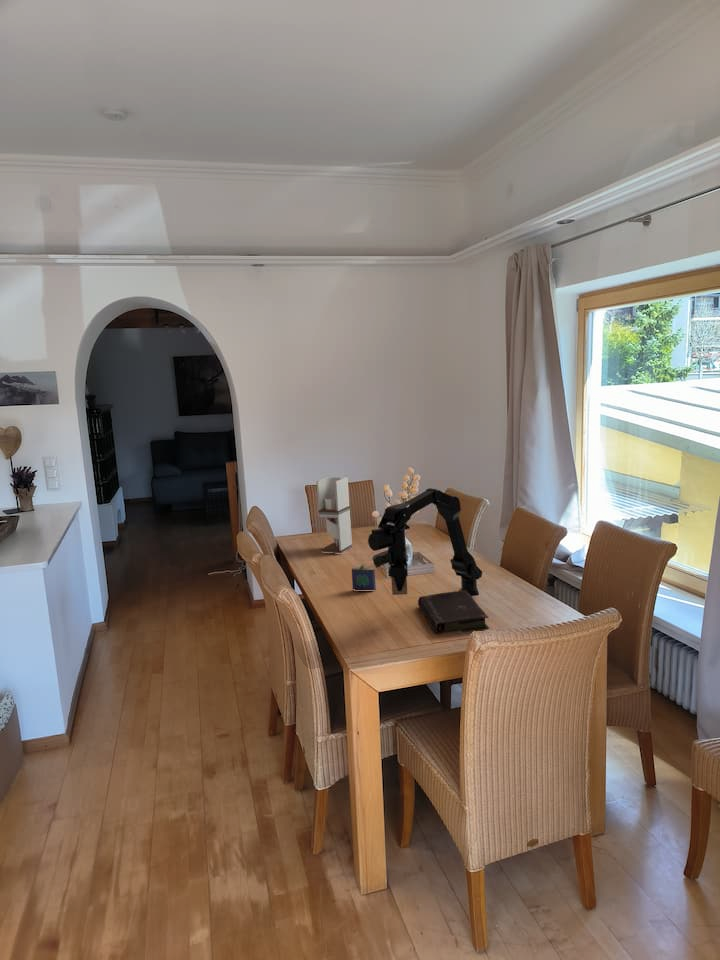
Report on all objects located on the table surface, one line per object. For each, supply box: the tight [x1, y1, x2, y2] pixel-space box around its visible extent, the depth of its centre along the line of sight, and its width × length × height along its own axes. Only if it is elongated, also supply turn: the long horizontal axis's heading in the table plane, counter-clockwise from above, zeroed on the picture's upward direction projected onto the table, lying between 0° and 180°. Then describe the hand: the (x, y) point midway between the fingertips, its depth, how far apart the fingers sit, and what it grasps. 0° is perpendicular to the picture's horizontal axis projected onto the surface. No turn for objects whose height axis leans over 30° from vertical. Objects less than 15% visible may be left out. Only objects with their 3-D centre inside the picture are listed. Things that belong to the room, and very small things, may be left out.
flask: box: [351, 563, 377, 590], centre depth 246 cm, size 9×3×11 cm, turn 78°
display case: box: [316, 476, 353, 553], centre depth 303 cm, size 11×11×35 cm
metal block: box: [390, 576, 408, 596], centre depth 215 cm, size 5×5×6 cm
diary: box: [417, 590, 490, 636], centre depth 215 cm, size 19×25×5 cm
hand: (399, 588), depth 215 cm, fingers closed on metal block, 5 cm apart
